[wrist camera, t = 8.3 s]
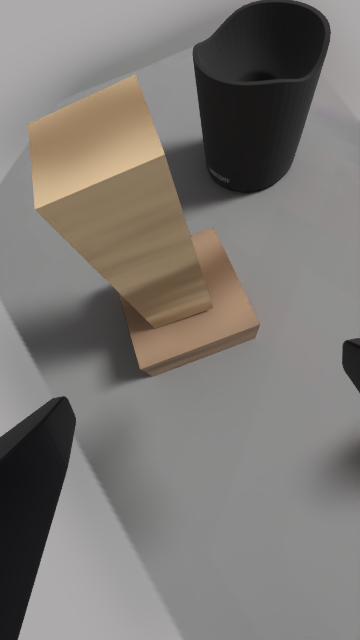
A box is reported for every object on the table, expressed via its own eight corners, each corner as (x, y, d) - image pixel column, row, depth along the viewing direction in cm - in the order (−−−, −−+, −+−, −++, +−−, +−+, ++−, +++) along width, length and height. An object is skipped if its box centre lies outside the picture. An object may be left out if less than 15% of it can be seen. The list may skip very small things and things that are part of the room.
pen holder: (198, 138, 31) (187, 18, 22) (285, 120, 30) (312, -15, 21) (208, 205, 28) (199, 98, 19) (306, 187, 27) (348, 64, 17)
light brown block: (254, 339, 23) (260, 324, 19) (153, 377, 23) (140, 369, 20) (214, 254, 26) (213, 227, 23) (126, 288, 27) (110, 266, 23)
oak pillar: (213, 307, 20) (164, 154, 8) (154, 328, 20) (34, 209, 9) (195, 257, 22) (135, 74, 10) (141, 277, 22) (28, 124, 11)
